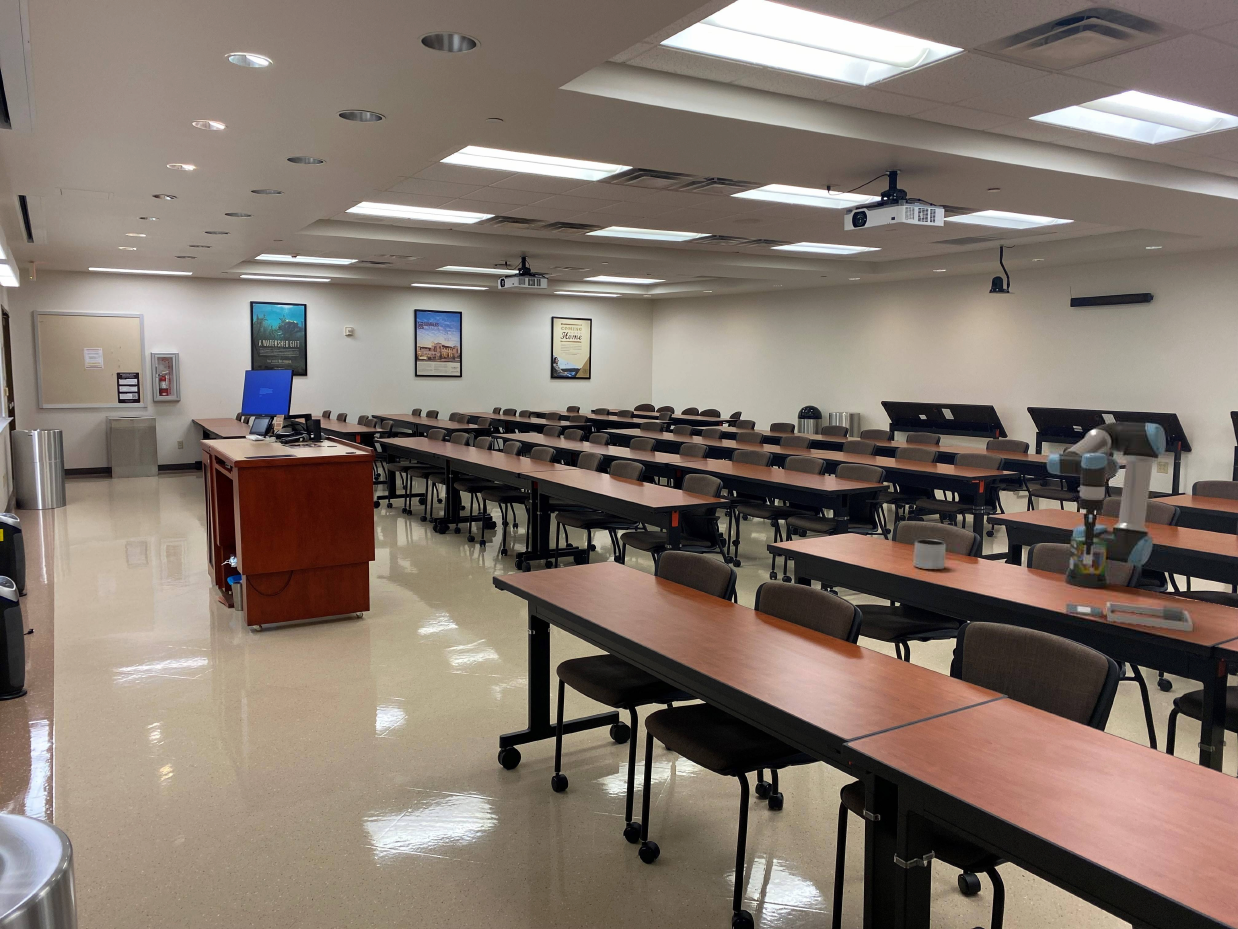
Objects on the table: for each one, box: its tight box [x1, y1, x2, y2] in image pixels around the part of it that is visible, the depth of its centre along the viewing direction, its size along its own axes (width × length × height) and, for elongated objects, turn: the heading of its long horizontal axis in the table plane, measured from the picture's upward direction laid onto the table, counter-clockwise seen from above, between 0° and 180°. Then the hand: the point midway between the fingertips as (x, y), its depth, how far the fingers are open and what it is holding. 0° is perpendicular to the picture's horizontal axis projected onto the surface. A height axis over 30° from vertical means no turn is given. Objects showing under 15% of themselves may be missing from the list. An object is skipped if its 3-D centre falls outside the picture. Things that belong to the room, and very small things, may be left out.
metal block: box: [1161, 605, 1184, 622], centre depth 284 cm, size 5×5×5 cm
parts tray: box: [1105, 601, 1194, 632], centre depth 287 cm, size 16×24×2 cm, turn 61°
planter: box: [913, 538, 946, 570], centre depth 360 cm, size 13×12×11 cm
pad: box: [1065, 603, 1103, 618], centre depth 297 cm, size 11×11×1 cm
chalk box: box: [1068, 529, 1107, 574], centre depth 295 cm, size 9×9×15 cm
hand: (1087, 560), depth 295 cm, fingers closed on chalk box, 10 cm apart
